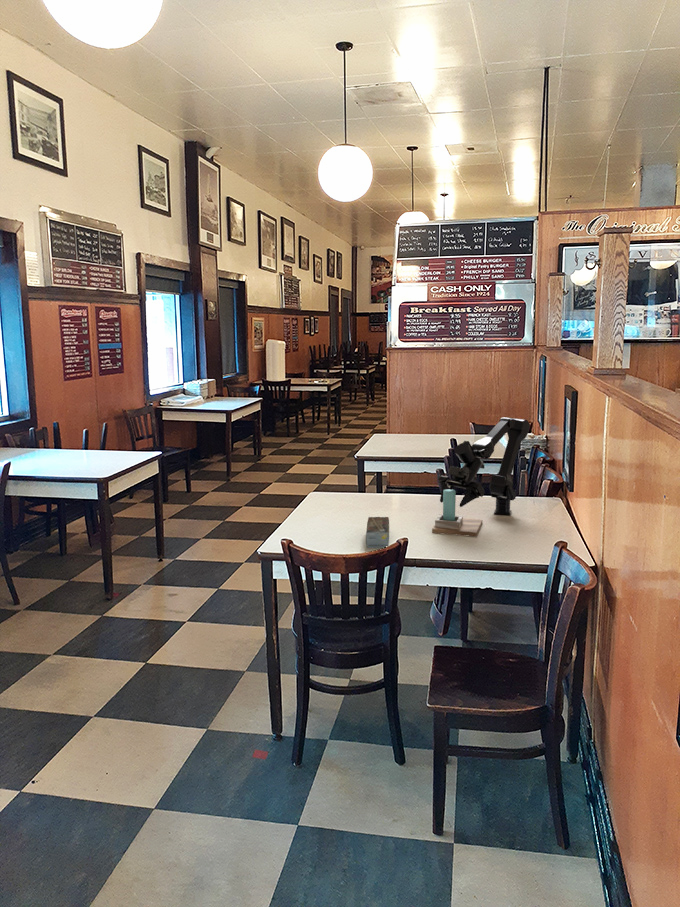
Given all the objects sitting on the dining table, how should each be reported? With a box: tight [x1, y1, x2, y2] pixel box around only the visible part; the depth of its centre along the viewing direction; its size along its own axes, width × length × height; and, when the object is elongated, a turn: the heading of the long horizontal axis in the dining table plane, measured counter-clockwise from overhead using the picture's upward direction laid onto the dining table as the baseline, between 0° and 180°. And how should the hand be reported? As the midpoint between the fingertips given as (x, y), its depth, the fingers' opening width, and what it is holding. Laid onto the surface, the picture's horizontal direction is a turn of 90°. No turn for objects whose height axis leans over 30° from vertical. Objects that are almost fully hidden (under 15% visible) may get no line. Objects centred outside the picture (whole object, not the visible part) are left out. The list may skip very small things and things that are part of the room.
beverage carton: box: [365, 516, 390, 549], centre depth 246 cm, size 8×19×7 cm, turn 175°
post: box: [442, 489, 457, 521], centre depth 259 cm, size 4×4×13 cm
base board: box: [431, 514, 483, 537], centre depth 261 cm, size 18×16×4 cm
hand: (450, 504), depth 259 cm, fingers open, 9 cm apart
